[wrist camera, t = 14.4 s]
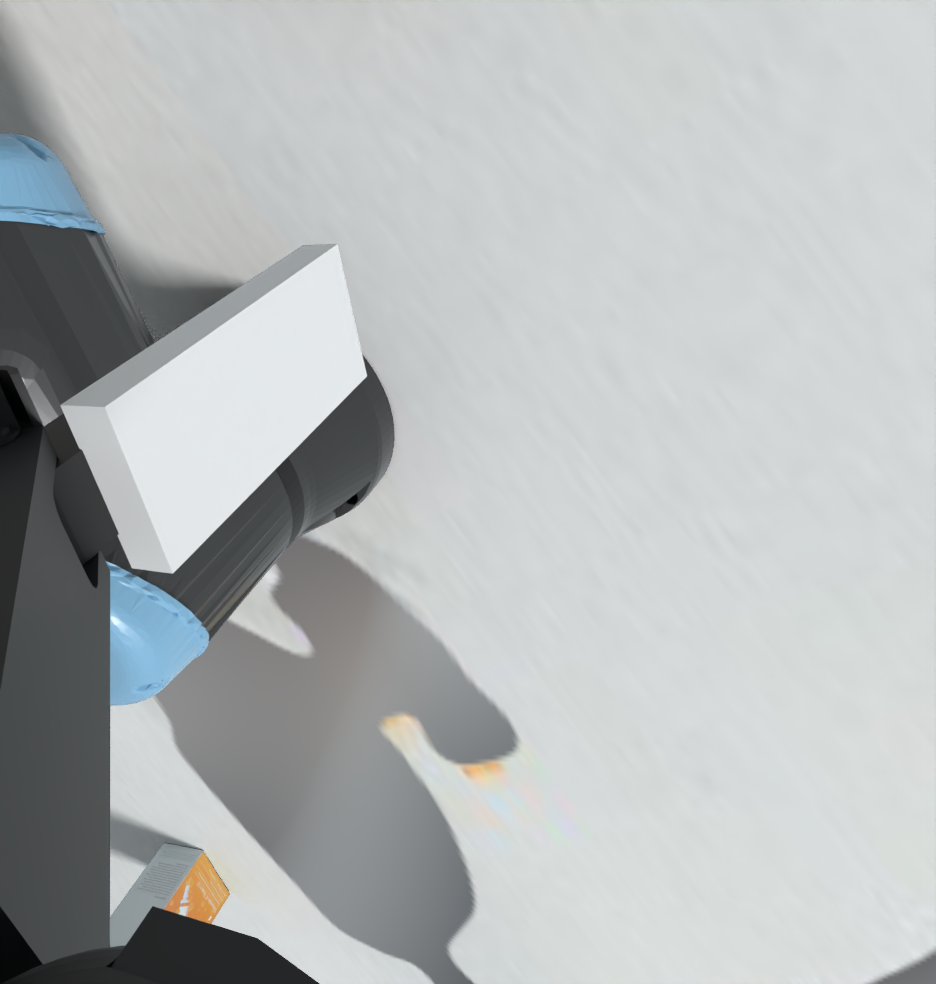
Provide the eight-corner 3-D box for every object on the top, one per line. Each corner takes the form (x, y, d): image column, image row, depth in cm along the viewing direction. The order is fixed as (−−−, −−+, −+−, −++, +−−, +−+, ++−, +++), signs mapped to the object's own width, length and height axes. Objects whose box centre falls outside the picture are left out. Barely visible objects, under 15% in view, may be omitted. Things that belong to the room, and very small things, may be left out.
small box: (231, 892, 102) (164, 1002, 92) (191, 883, 105) (121, 989, 95) (204, 849, 98) (130, 958, 88) (162, 841, 101) (86, 946, 91)
